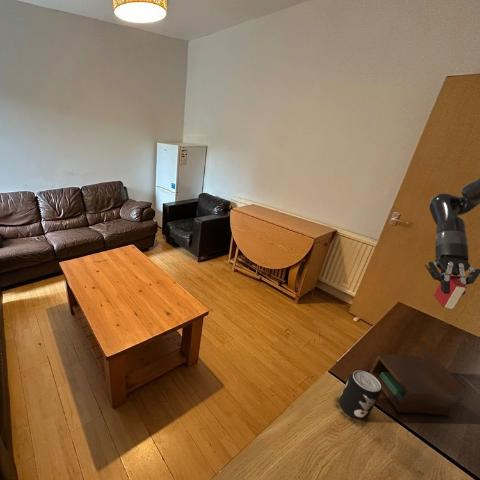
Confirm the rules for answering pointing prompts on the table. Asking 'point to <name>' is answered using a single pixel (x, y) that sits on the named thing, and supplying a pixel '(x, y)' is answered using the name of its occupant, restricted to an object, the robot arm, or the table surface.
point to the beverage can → (360, 395)
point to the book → (455, 293)
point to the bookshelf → (417, 383)
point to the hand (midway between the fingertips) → (453, 294)
